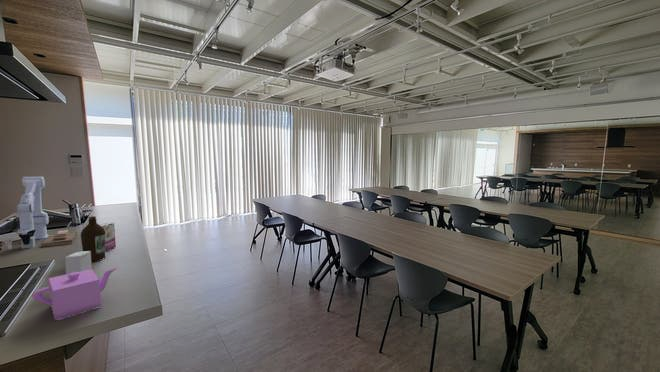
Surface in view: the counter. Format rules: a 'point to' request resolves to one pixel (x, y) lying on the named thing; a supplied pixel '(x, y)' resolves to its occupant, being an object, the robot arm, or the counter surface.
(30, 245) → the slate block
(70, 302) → the teapot
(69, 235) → the puzzle board
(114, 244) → the candy bar box
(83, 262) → the skincare box
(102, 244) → the olive oil
